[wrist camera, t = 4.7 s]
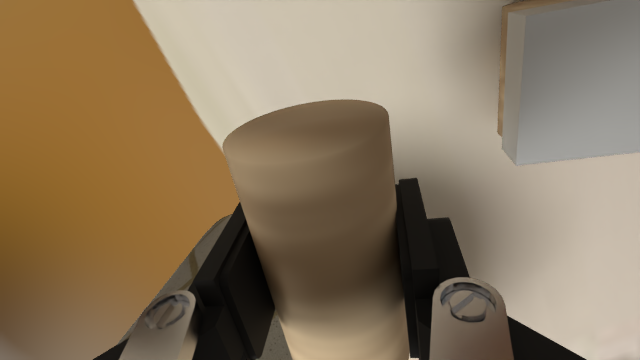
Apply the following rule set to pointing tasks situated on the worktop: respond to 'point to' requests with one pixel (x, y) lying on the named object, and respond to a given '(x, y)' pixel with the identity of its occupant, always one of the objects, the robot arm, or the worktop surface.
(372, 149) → the roller
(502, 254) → the worktop surface
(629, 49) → the slab
